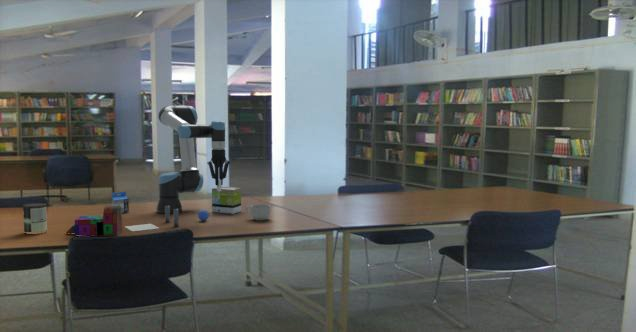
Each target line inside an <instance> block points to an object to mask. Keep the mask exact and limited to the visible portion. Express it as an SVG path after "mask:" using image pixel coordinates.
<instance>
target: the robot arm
mask: <svg viewBox="0 0 636 332" xmlns="http://www.w3.org/2000/svg"><path fill="white" fill-rule="evenodd" d="M157 117H158V120H159V122H160V123H161V124H162V125H164V126H167V127H168V126H169V128H172V129H173V130H175V131H176V132H177V135H178V139H179V150H180V161H181V169H180V170H179V171H172V172H171V171H170V172H165V173H162V174H159V176H158V202H157V204H156V205H157V206H156V213H157V214H158V213H159V214H165V206H170V214H173V209H178V211H179V213H180V212H183V206H182V203H181V200H180V194H184V193H185V194H186V193H187V194H188V193H197V192H200V191H201V190H202V188H203V186H204V176H203V173H201V172H200V170H199V169H198V168H197V164H196V153H195V143H194V141H195V140H194V139H211V159H210V161H207V162H206V163H207V165H208V167H209V170H210V176H211V178H212V179H214V181H215V183H214V184H215V186H216V188H217V191H221V187H222V186H223V185H224V184H223V181H224V179H226V178H227V172H228V169H229V168H228V167H229V165H230V163H231V162H230V160H227V157H226V123H225V121H223V120H220V121H219V120H216V121H215V120H213V121H211V123H209V124H207V123H206V124H197V123H198V113H197V110H196V108H195V107H194V106H191V105H171V104H170V105H165V106H164V107H162V108H160V110H159V112H158V115H157Z"/></svg>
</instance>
